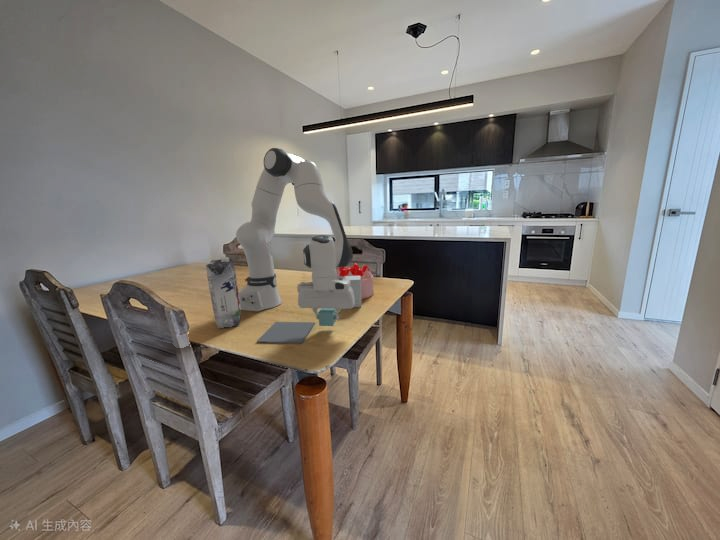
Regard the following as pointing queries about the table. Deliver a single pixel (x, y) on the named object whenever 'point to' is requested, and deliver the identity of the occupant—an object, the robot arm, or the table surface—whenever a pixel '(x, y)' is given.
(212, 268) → the juice carton
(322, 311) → the teal cube
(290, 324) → the charcoal mat
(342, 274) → the cake
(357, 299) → the supplement box
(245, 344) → the table surface
